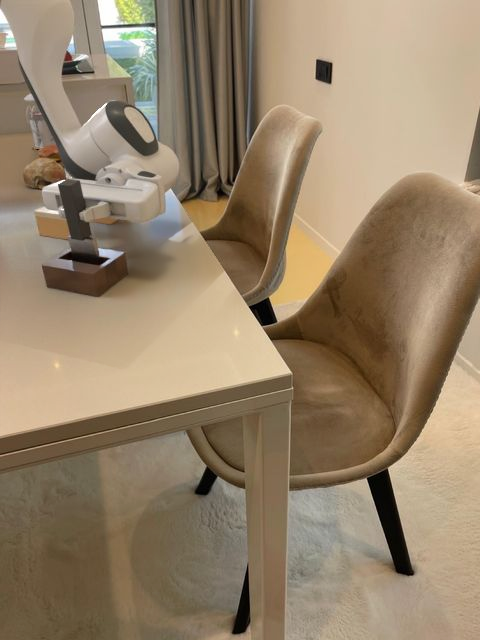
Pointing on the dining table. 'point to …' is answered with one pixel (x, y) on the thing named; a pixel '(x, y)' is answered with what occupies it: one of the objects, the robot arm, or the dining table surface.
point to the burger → (50, 153)
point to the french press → (39, 126)
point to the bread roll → (43, 173)
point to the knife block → (85, 272)
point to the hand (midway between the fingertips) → (72, 215)
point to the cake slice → (51, 223)
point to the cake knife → (78, 224)
